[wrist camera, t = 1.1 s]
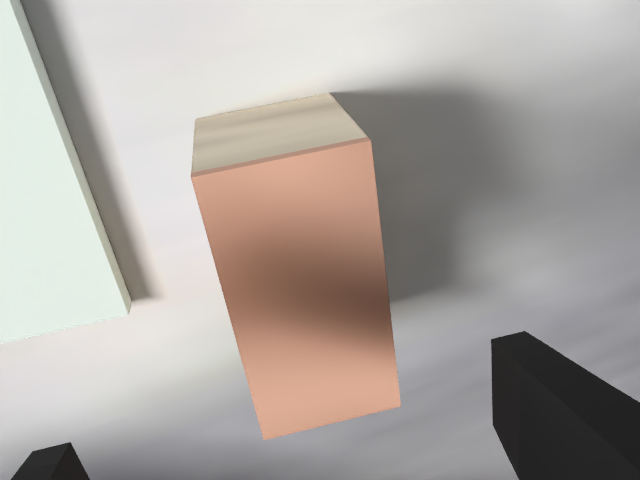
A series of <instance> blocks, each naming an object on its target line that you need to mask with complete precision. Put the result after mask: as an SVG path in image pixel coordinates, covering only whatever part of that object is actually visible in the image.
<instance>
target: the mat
mask: <svg viewBox="0 0 640 480" xmlns="http://www.w3.org/2000/svg"><path fill="white" fill-rule="evenodd" d="M131 303H132V301H131V298H130V296H129V293H128V290H127V288H126V285H125V282H124V279H123V277H122V274H121V271H120V269H119V266H118V263H117V261H116V258H115V255H114V252H113V250H112V247H111V244H110V242H109V239H108V236H107V234H106V231H105V228H104V226H103V223H102V220H101V217H100V215H99V212H98V209H97V207H96V204H95V201H94V199H93V196H92V193H91V190H90V188H89V185H88V182H87V180H86V177H85V174H84V172H83V169H82V166H81V164H80V161H79V158H78V155H77V153H76V150H75V147H74V145H73V142H72V139H71V137H70V134H69V131H68V128H67V126H66V123H65V120H64V118H63V115H62V112H61V110H60V107H59V104H58V102H57V99H56V96H55V93H54V91H53V88H52V85H51V83H50V80H49V77H48V75H47V72H46V69H45V66H44V64H43V61H42V58H41V56H40V53H39V50H38V48H37V45H36V42H35V39H34V37H33V34H32V31H31V29H30V26H29V23H28V21H27V18H26V15H25V13H24V10H23V7H22V4H21V2H20V0H0V344H2V343H7V342H11V341H16V340H20V339H25V338H29V337H34V336H38V335H43V334H47V333H52V332H56V331H61V330H66V329H70V328H75V327H79V326H84V325H88V324H93V323H97V322H102V321H106V320H111V319H115V318H120V317H124V316H129V312H130V308H131Z"/></svg>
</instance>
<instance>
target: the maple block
mask: <svg viewBox="0 0 640 480" xmlns="http://www.w3.org/2000/svg"><path fill="white" fill-rule="evenodd" d="M191 179H192V183H193V187H194V190H195V194H196V197H197V201H198V205H199V208H200V212H201V215H202V219H203V223H204V226H205V230H206V233H207V237H208V241H209V244H210V248H211V251H212V255H213V259H214V262H215V266H216V269H217V273H218V277H219V280H220V284H221V287H222V291H223V295H224V298H225V302H226V305H227V309H228V313H229V316H230V320H231V323H232V327H233V331H234V334H235V338H236V341H237V345H238V349H239V352H240V356H241V360H242V363H243V367H244V370H245V374H246V378H247V381H248V385H249V388H250V392H251V396H252V399H253V403H254V406H255V410H256V414H257V417H258V421H259V424H260V428H261V432H262V435H263V439H264V440H267V439H271V438H275V437H279V436H283V435H287V434H291V433H295V432H299V431H303V430H307V429H311V428H315V427H319V426H323V425H327V424H331V423H336V422H340V421H344V420H348V419H352V418H356V417H360V416H364V415H368V414H372V413H376V412H380V411H384V410H388V409H392V408H396V407H400V406H401V403H400V394H399V385H398V376H397V367H396V358H395V349H394V341H393V332H392V323H391V314H390V305H389V296H388V287H387V278H386V269H385V260H384V251H383V242H382V234H381V225H380V216H379V207H378V198H377V189H376V180H375V171H374V162H373V153H372V144H371V140H370V139H369V138H368V136H367V135H366V134H365V133H364V132H363V131H362V130H361V128H360V127H359V126H358V125H357V124H356V123H355V122H354V120H353V119H352V118H351V117H350V116H349V115H348V114H347V112H346V111H345V110H344V109H343V108H342V107H341V106H340V104H339V103H338V102H337V101H336V100H335V99H334V98H333V96H332V95H331V94H330V93H325V94H320V95H315V96H310V97H305V98H300V99H295V100H290V101H284V102H279V103H274V104H269V105H264V106H259V107H254V108H249V109H244V110H239V111H233V112H228V113H223V114H218V115H213V116H208V117H203V118H198V119H195V129H194V142H193V156H192V170H191Z"/></svg>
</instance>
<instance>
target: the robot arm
mask: <svg viewBox="0 0 640 480" xmlns="http://www.w3.org/2000/svg"><path fill="white" fill-rule="evenodd" d="M491 349H492V407H493V426H494V428H495V430H496V432H497V435H498V437H499V439H500V441H501V443H502V445H503V448H504V450H505V452H506V454H507V456H508V458H509V460H510V462H511V464H512V466H513V468H514V470H515V472H516V474H517V476H518V478H519V480H640V402H638V401H636V400H635V399H633V398H631V397H630V396H628V395H626V394H625V393H623V392H621V391H620V390H618V389H616V388H615V387H613V386H611V385H610V384H608V383H607V382H605V381H603V380H602V379H600V378H598V377H597V376H595V375H594V374H592V373H590V372H589V371H587V370H586V369H584V368H582V367H581V366H579V365H578V364H576V363H575V362H573V361H571V360H570V359H568V358H567V357H565V356H564V355H562V354H560V353H559V352H557V351H556V350H554V349H553V348H551V347H549V346H548V345H546V344H545V343H543V342H542V341H540V340H538V339H537V338H535V337H534V336H532V335H530V334H529V333H527V332H525V331H523V332H519V333H515V334H511V335H507V336H503V337H499V338H495V339H491ZM11 480H90V479H89V477H88V475H87V473H86V471H85V469H84V468H83V466H82V464H81V462H80V460H79V458H78V456H77V454H76V452H75V450H74V448H73V446H72V444H71V442H69V443H65V444H61V445H57V446H53V447H49V448H45V449H41V450H37V451H33V452H32V453H31V454H30V455H29V457H28V458H27V459H26V461H25V462H24V463H23V464H22V466H21V467H20V468H19V470H18V471H17V472H16V474H15V475H14V476H13V478H12V479H11Z"/></svg>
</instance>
